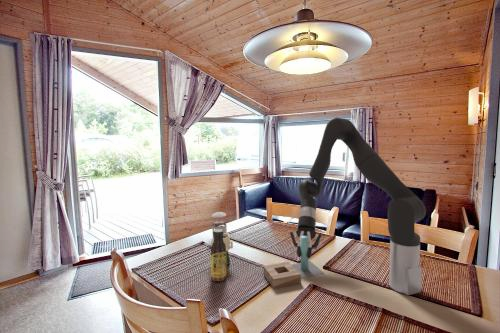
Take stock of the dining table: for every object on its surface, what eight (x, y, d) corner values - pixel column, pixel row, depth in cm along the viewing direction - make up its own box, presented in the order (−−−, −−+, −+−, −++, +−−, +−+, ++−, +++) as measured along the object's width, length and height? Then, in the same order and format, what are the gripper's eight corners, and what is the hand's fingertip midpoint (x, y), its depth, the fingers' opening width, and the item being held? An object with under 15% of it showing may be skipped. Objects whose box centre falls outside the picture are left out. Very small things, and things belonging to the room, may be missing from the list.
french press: (221, 243, 145) (219, 197, 143) (205, 239, 152) (202, 195, 149) (232, 237, 153) (230, 194, 151) (216, 234, 160) (214, 192, 157)
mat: (325, 274, 110) (325, 273, 110) (298, 279, 106) (298, 279, 106) (310, 261, 121) (310, 261, 121) (285, 266, 118) (285, 265, 118)
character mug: (208, 265, 121) (206, 236, 120) (217, 258, 127) (216, 231, 126) (229, 269, 116) (228, 240, 115) (237, 262, 123) (236, 234, 121)
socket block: (300, 283, 103) (300, 273, 103) (274, 289, 100) (273, 279, 100) (288, 270, 114) (288, 261, 113) (263, 275, 111) (263, 265, 110)
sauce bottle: (213, 284, 105) (211, 234, 103) (209, 276, 111) (206, 229, 109) (229, 280, 108) (227, 231, 106) (224, 273, 113) (222, 226, 111)
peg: (310, 270, 113) (309, 237, 111) (303, 271, 112) (302, 239, 110) (306, 267, 116) (305, 235, 114) (299, 268, 115) (298, 236, 113)
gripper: (290, 214, 121) (285, 251, 111) (323, 216, 116) (321, 255, 106) (292, 222, 126) (288, 258, 116) (324, 224, 122) (322, 262, 112)
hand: (303, 256), depth 111 cm, fingers closed on peg, 3 cm apart
